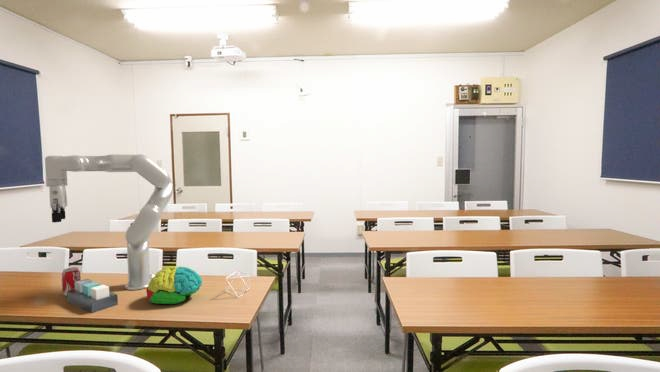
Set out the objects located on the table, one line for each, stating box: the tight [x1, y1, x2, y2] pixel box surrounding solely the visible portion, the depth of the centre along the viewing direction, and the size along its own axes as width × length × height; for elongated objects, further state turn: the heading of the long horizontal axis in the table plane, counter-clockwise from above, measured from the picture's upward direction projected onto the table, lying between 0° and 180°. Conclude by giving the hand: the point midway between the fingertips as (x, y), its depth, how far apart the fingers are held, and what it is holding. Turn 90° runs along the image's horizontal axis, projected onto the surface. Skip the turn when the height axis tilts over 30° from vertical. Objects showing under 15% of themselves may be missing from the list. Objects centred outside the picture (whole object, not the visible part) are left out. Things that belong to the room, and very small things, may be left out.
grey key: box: [75, 278, 93, 293], centre depth 155 cm, size 5×5×5 cm
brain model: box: [145, 265, 203, 305], centre depth 155 cm, size 24×19×15 cm
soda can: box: [61, 267, 82, 297], centre depth 162 cm, size 7×7×12 cm
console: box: [66, 289, 119, 314], centre depth 151 cm, size 10×23×5 cm, turn 58°
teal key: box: [82, 281, 102, 297], centre depth 151 cm, size 5×5×5 cm
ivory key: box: [90, 284, 110, 300], centre depth 147 cm, size 5×5×5 cm
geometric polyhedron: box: [225, 270, 251, 299], centre depth 162 cm, size 12×11×9 cm
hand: (59, 220), depth 157 cm, fingers open, 9 cm apart
